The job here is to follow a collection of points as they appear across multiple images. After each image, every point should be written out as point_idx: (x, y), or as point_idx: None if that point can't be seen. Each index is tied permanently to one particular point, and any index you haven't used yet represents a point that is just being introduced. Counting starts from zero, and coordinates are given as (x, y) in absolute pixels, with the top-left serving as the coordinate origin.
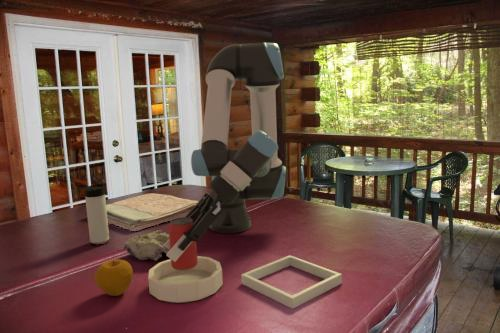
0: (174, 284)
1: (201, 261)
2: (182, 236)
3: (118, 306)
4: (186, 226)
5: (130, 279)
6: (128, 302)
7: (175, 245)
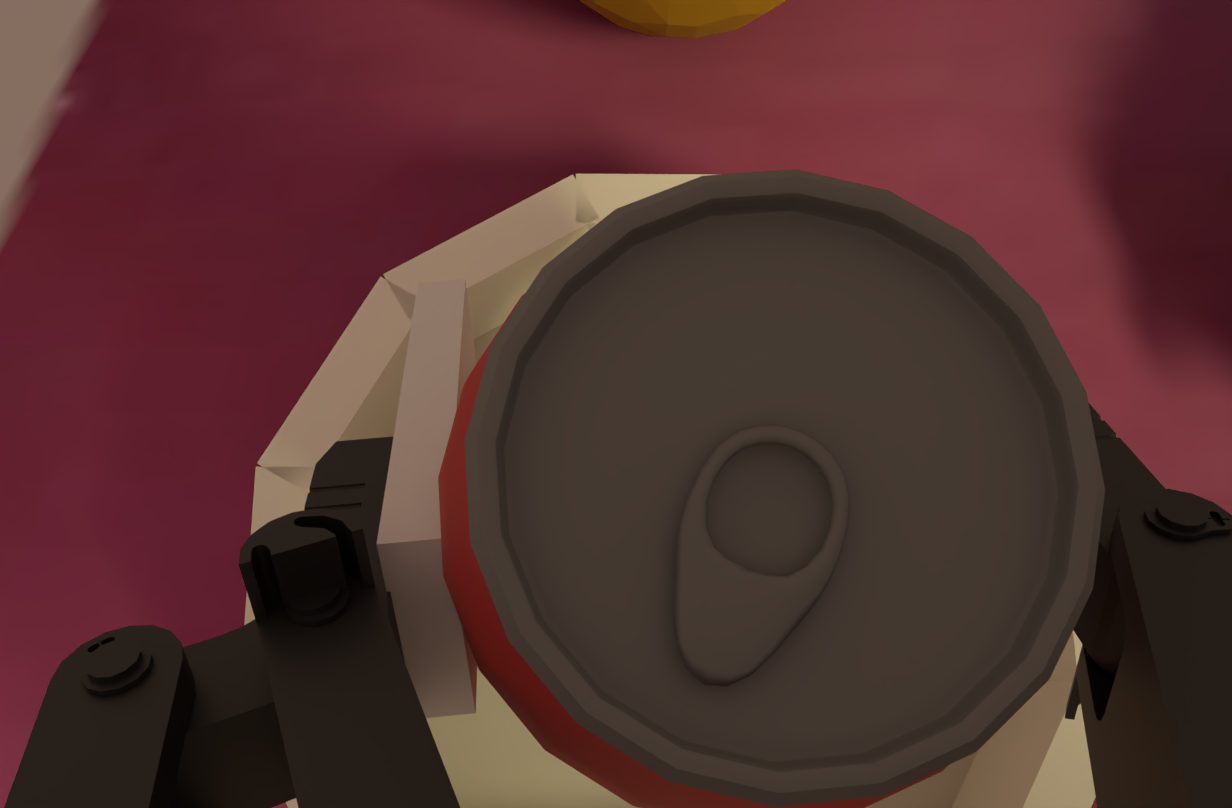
0: (317, 447)
1: (1005, 803)
2: (408, 505)
3: (438, 14)
4: (487, 598)
5: (618, 11)
6: (486, 83)
7: (405, 389)
